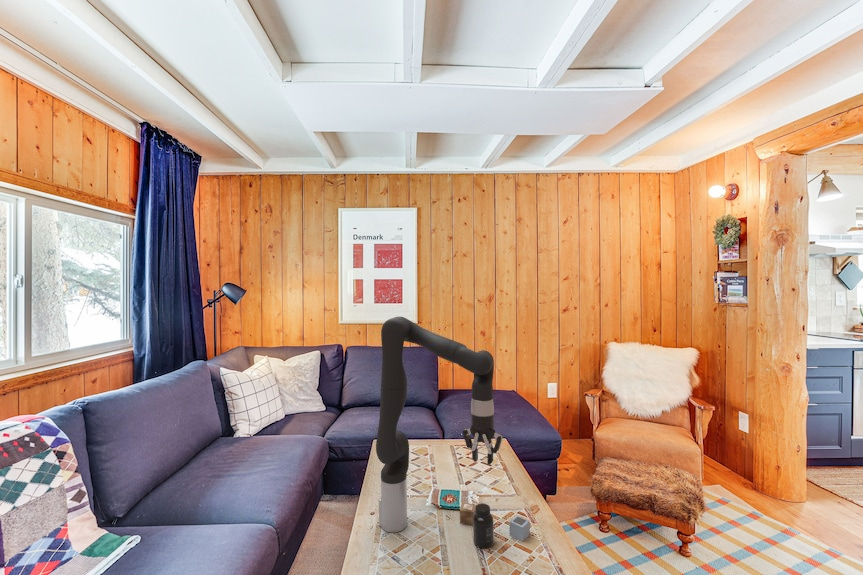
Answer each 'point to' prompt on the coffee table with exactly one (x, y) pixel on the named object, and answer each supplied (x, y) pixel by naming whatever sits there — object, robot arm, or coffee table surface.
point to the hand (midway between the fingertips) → (482, 462)
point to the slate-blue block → (519, 528)
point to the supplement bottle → (483, 526)
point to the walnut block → (467, 513)
